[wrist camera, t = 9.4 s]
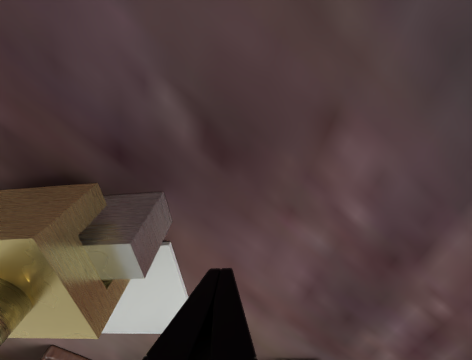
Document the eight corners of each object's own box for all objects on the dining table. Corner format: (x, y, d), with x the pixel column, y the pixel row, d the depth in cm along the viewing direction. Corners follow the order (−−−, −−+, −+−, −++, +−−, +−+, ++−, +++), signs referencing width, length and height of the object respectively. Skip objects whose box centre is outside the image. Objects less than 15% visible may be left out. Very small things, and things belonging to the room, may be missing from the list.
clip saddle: (135, 270, 14) (66, 396, 9) (40, 272, 15) (-74, 390, 10) (97, 182, 11) (-30, 292, 6) (-17, 191, 12) (-212, 295, 7)
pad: (198, 330, 19) (197, 334, 19) (92, 329, 20) (90, 333, 20) (170, 241, 15) (168, 245, 15) (38, 247, 16) (35, 250, 16)
